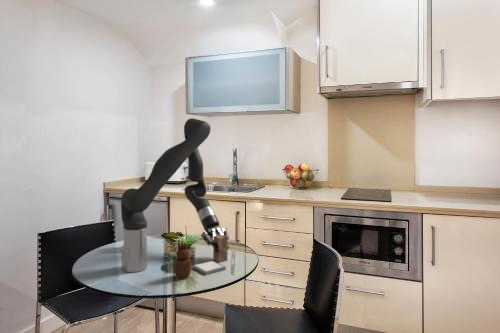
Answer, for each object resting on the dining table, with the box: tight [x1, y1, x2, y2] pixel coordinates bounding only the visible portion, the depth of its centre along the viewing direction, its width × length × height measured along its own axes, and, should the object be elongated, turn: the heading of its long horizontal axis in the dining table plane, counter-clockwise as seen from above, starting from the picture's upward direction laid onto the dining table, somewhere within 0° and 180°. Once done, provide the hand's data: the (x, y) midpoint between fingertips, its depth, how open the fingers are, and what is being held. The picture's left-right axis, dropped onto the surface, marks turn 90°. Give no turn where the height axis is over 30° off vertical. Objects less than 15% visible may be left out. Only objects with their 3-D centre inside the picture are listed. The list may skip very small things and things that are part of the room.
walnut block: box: [212, 235, 229, 264], centre depth 156 cm, size 4×4×11 cm
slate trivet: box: [192, 260, 227, 276], centre depth 145 cm, size 10×10×1 cm
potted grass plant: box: [173, 239, 193, 279], centre depth 136 cm, size 7×6×15 cm
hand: (222, 250), depth 155 cm, fingers closed on walnut block, 4 cm apart
